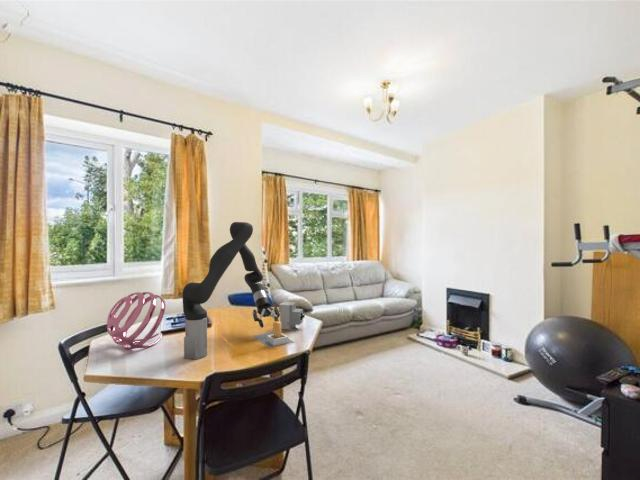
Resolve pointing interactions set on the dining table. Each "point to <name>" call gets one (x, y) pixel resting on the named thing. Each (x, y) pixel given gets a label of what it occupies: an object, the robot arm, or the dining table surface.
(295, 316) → the circuit breaker
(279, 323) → the wooden peg
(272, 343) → the lockout board
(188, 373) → the dining table surface
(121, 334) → the spiral basket
